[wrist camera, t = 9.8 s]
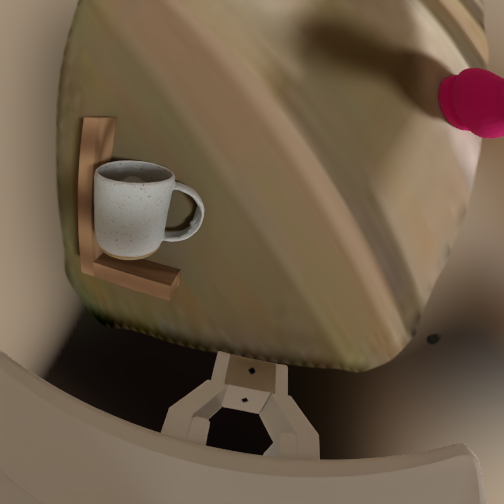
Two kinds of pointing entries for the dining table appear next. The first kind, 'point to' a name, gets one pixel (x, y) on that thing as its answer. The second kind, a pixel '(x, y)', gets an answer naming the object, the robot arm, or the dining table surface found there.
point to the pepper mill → (474, 102)
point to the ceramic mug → (137, 208)
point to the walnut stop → (92, 257)
